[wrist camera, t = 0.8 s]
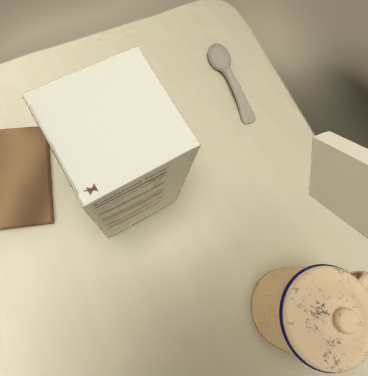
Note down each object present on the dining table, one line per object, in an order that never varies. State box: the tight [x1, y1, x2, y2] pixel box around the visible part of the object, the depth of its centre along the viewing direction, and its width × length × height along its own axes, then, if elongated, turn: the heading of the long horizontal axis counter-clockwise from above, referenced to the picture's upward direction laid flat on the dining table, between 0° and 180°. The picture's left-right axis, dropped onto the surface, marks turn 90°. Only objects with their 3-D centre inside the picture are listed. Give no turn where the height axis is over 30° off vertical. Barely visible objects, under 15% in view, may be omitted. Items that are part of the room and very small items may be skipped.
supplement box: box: [22, 47, 201, 238], centre depth 30 cm, size 10×9×17 cm
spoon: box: [208, 43, 255, 125], centre depth 43 cm, size 3×12×2 cm, turn 24°
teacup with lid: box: [252, 264, 368, 373], centre depth 32 cm, size 12×9×12 cm
